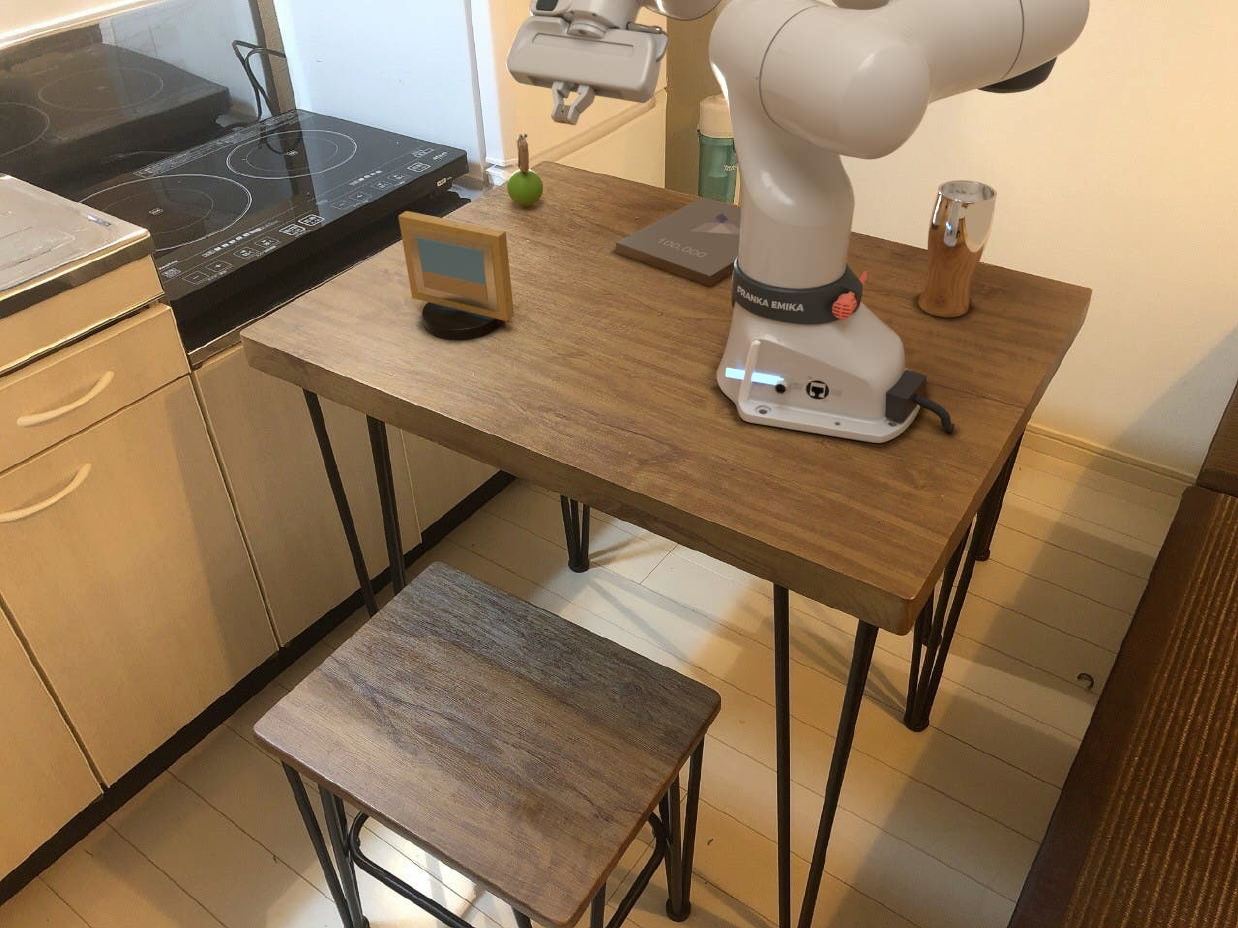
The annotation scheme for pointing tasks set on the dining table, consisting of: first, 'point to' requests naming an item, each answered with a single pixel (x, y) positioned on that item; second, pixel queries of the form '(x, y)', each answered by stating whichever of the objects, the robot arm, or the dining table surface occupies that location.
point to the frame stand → (456, 323)
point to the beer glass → (956, 245)
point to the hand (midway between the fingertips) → (562, 121)
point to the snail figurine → (524, 178)
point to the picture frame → (457, 265)
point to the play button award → (690, 241)
